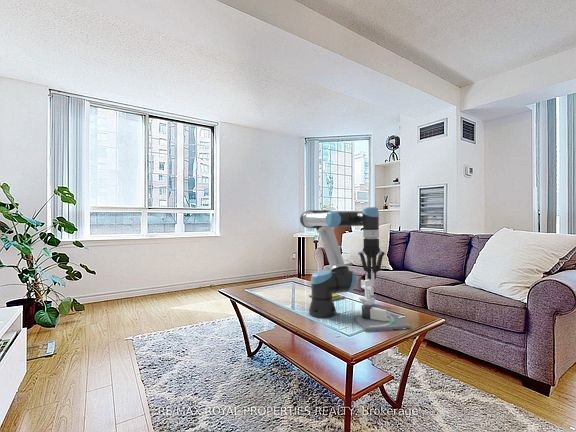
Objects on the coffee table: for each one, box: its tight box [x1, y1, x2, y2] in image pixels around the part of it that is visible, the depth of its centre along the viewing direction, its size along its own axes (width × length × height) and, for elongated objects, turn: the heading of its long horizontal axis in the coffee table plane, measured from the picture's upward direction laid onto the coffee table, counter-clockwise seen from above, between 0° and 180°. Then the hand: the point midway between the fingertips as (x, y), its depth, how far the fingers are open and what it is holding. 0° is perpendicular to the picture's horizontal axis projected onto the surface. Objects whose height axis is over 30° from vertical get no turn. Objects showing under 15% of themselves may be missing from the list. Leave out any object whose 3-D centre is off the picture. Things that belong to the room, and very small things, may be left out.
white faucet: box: [358, 279, 377, 306], centre depth 185 cm, size 7×9×15 cm
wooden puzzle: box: [308, 293, 346, 301], centre depth 204 cm, size 18×19×4 cm
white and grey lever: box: [361, 304, 390, 321], centre depth 153 cm, size 14×5×6 cm, turn 56°
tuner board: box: [352, 313, 411, 333], centre depth 151 cm, size 22×18×2 cm
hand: (372, 285), depth 149 cm, fingers closed
